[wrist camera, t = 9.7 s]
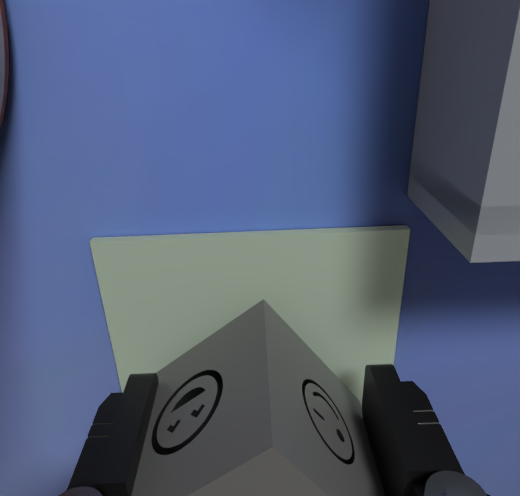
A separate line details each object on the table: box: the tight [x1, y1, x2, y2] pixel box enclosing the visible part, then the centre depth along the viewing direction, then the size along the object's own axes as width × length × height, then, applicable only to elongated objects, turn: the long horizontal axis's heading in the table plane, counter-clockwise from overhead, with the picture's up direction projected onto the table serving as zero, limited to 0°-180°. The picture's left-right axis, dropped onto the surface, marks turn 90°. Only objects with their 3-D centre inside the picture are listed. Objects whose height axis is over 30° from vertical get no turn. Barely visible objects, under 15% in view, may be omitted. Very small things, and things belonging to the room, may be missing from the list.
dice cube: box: [131, 299, 385, 496], centre depth 12 cm, size 5×5×5 cm
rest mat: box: [90, 225, 410, 406], centre depth 15 cm, size 9×9×1 cm
